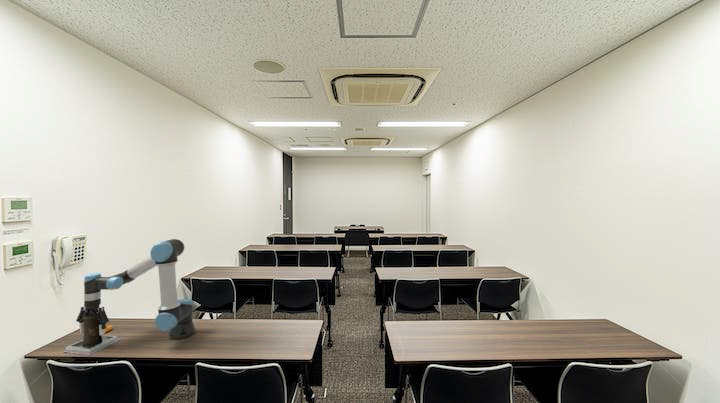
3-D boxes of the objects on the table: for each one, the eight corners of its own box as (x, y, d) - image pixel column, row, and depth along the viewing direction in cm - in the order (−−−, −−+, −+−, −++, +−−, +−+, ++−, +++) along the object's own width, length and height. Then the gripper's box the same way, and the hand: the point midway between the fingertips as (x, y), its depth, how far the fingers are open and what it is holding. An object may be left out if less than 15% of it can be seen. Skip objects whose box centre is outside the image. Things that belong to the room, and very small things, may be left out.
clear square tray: (119, 340, 186) (119, 335, 186) (89, 355, 168) (89, 349, 168) (95, 338, 189) (95, 333, 189) (63, 352, 171) (63, 347, 171)
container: (78, 347, 175) (77, 317, 175) (94, 340, 184) (94, 312, 184) (90, 348, 173) (89, 318, 173) (106, 341, 182) (105, 312, 182)
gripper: (116, 298, 180) (116, 332, 180) (81, 296, 184) (81, 329, 184) (104, 302, 173) (104, 337, 173) (68, 300, 176) (68, 335, 176)
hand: (92, 333), depth 178 cm, fingers open, 13 cm apart
